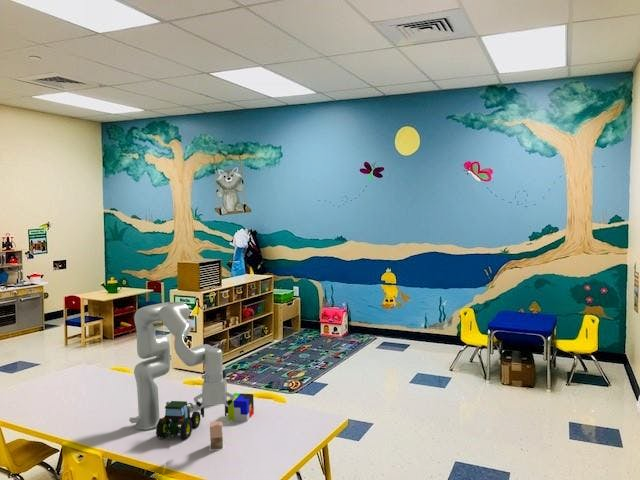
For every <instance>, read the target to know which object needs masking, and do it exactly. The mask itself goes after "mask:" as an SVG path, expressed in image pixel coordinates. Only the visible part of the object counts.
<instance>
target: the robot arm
mask: <svg viewBox="0 0 640 480" xmlns="http://www.w3.org/2000/svg"><path fill="white" fill-rule="evenodd" d="M190 313H191V311H190V308H189V306H188V304H186V303H184V302H181V301H178V302H177V301H167V302H161V303H156V304H155V303H154V304H149V305H146V306H142V307H140V308H138V309H137V310H136V312H135V313H134V317H133V318H134V324H135V329H136V351H137V356H138V358H140V359H142V361H140V362H139V363H137V364H136V365H135V366H134V369H133V375H134V379H135V382H136V391H137V410H138V411H137V413H138V416H136V417H129V422H130V423H131V424H135V428H136V429H137V430H139V431H140V430H141V431H149V430H153V429H154V430H155V429H156V427H157V424H158V421H159V420H160V419H161V418H162V417H160V405H159V403H160V402H159V401H160V400H159V387H158V385H157V384H156V382H155V381H154V380H155V379H157V378H160V377H163V376H165V375H167V374H168V373H169V372H170V369H171V345H170V341H169V339H168V337H167V336H166V335H164V334H158V335H156V328H155V326H154V325H153V324H155V323H161V322H162V323H163V324H164V326H165V327H166V328H167V330H168V331H169V332H170V334H172V336H173V337H174V341H173V343H174V350H175V353H176V355H177V357H178V358H179V359H180V360H181V362H183V364H184V365H186V366H187V367H195V366H198V365H200V364H204V374H202V375H201V379H204V380H203V382H202V387H201V388H202V389H201V393H200V394H198V395H196V396H194V397H193V401H194V403H195V405H196V406H197V407H198V408H199V409H200V416H202V417H201V418H204V417H205V406H212V405H213V406H215V405H224V416H225V417H228V406H229V405H230V404H231V403H232V401H233V399H234V395H233V394H234V393H233V394H232V393H230V392H228V391H227V392H226V386H225V381H224V379H223V367H224V366H223V363H224V362H223V349H221V348H218V347H214V346H212V345H210V344H207V343H205V344H201V345H198V346H195V347H191V348H189V346H188V345H187V344H186V343H185V340H184V339H185V338H186V337H187V336H188V335H189V334H190V333H191V330H192V326H191V324H190V323H189V321H188V320H187V319H188V318H189V316H190V315H191V314H190ZM226 396H227V398H230V400H229V401H227V400H228V399H227V400H226ZM200 399H201V402H200V401H199V400H200Z"/></svg>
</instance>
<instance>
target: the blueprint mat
mask: <svg viewBox="0 0 640 480" xmlns="http://www.w3.org/2000/svg"><path fill="white" fill-rule="evenodd" d="M208 445H209V447H208V451H209V452H210V451H219V450H220V451H221V450H225V445H226V444H225V442H224V441H223V448H222V449H212V450H211V443H209V444H208Z"/></svg>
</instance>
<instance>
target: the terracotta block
mask: <svg viewBox="0 0 640 480" xmlns="http://www.w3.org/2000/svg"><path fill="white" fill-rule="evenodd" d="M222 435H223V421H211V422H209V437H210V438H219V437H222ZM210 438H209V439H210Z"/></svg>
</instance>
